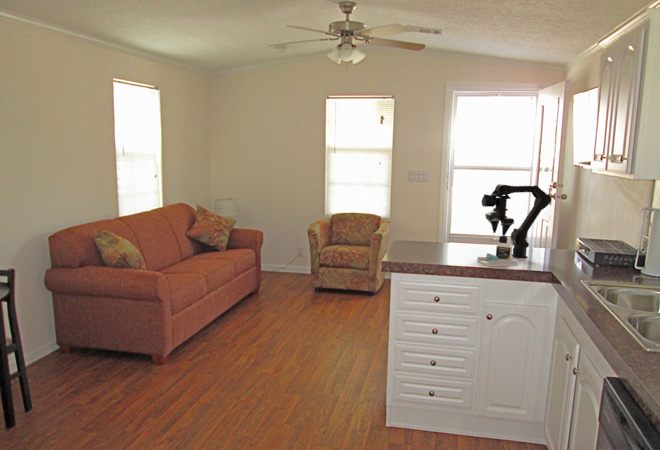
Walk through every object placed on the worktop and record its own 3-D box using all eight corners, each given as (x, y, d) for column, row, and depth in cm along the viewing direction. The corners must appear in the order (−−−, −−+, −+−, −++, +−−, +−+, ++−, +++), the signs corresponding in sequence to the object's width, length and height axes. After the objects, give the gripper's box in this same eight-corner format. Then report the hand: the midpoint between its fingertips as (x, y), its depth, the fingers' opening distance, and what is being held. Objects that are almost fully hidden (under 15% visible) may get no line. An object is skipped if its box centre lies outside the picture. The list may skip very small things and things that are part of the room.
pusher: (488, 259, 273) (488, 253, 273) (496, 263, 265) (497, 256, 265) (474, 260, 271) (475, 253, 271) (482, 263, 263) (483, 257, 263)
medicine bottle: (495, 258, 269) (497, 236, 268) (497, 256, 276) (499, 234, 274) (509, 260, 266) (511, 238, 264) (511, 257, 272) (513, 236, 271)
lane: (504, 260, 278) (505, 255, 278) (517, 265, 267) (518, 260, 266) (477, 261, 274) (477, 256, 274) (489, 266, 262) (489, 261, 262)
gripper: (479, 205, 290) (477, 231, 292) (497, 208, 272) (495, 237, 274) (496, 204, 292) (494, 231, 295) (515, 208, 274) (513, 236, 277)
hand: (498, 234), depth 285 cm, fingers open, 9 cm apart
